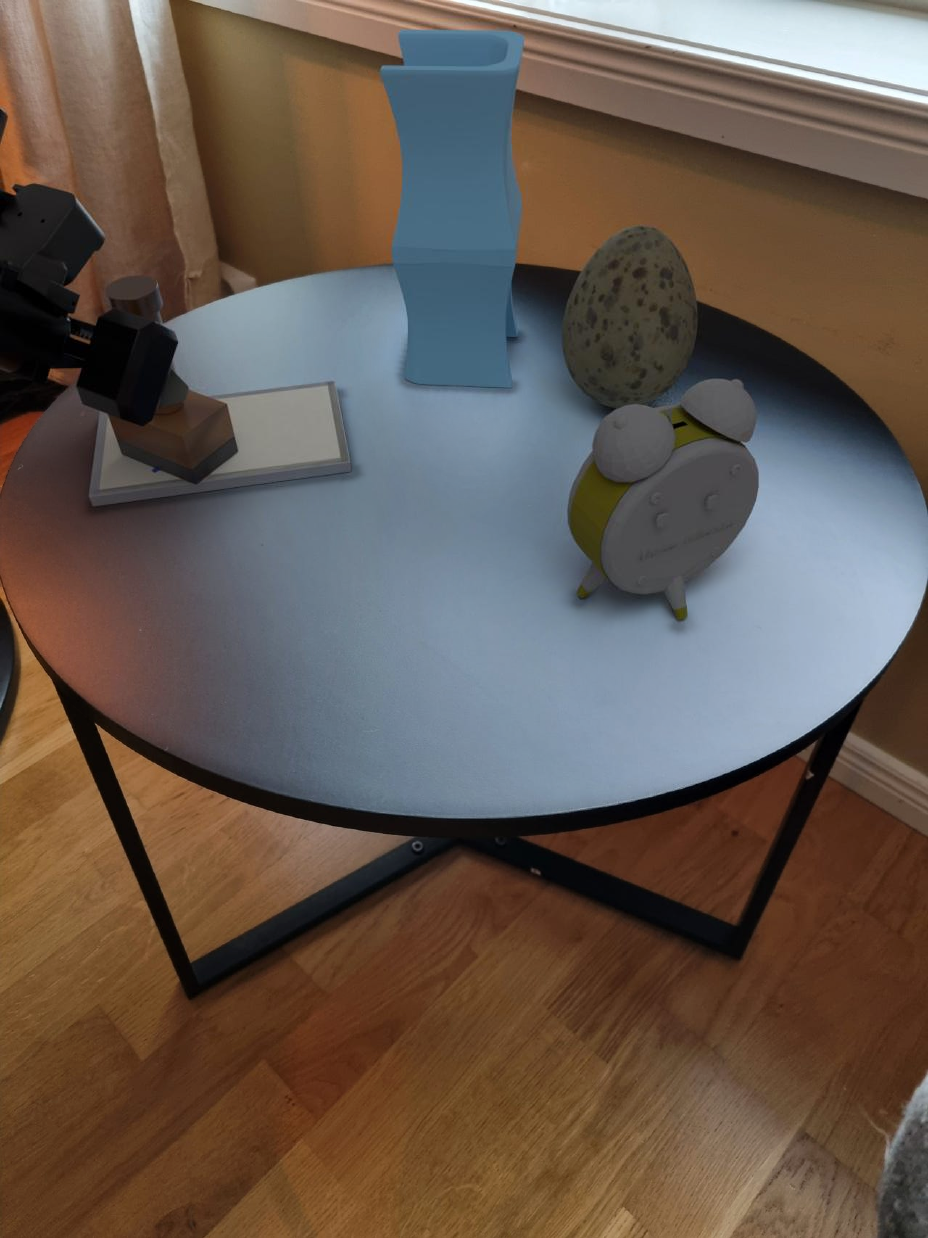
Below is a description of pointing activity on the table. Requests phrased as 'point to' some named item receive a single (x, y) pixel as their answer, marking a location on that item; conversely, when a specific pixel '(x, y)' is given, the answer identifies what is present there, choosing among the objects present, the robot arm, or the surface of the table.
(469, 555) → the table surface
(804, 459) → the table surface
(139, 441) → the wooden rubber stamp
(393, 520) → the table surface
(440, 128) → the vase
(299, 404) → the board
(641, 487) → the alarm clock
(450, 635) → the table surface
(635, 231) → the decorative egg
